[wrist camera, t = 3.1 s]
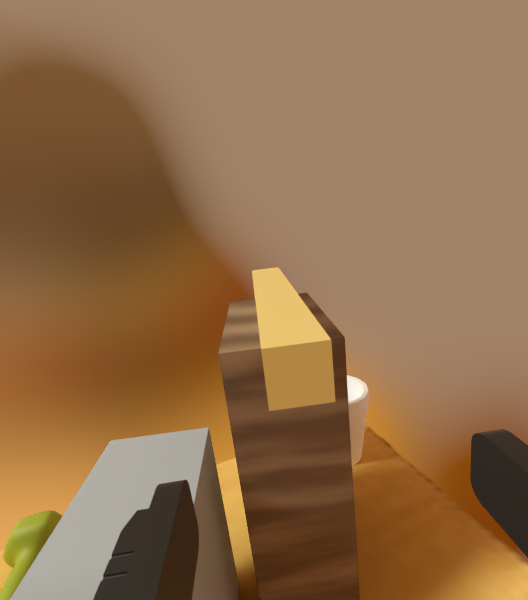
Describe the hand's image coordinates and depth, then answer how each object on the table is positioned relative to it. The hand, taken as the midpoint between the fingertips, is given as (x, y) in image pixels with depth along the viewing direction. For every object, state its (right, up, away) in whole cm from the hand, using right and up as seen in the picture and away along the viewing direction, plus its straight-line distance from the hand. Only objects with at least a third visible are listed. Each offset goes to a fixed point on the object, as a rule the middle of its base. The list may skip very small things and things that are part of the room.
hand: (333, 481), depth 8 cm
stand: (+3, -27, +31) cm, 42 cm away
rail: (-1, +3, +20) cm, 20 cm away
